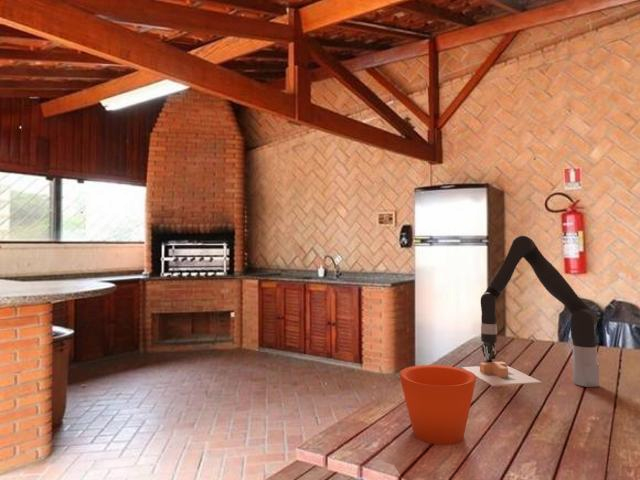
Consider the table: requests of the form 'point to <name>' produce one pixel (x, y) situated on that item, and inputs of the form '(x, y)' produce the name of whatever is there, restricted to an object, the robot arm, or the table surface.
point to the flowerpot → (438, 401)
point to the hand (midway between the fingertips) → (489, 366)
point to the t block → (495, 368)
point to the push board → (512, 379)
